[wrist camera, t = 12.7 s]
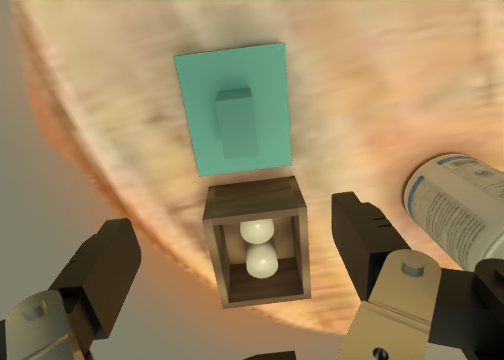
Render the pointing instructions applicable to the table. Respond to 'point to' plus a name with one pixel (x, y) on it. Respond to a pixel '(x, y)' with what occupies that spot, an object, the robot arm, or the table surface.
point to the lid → (237, 108)
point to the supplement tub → (459, 207)
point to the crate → (234, 245)
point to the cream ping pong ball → (257, 230)
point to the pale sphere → (261, 259)
